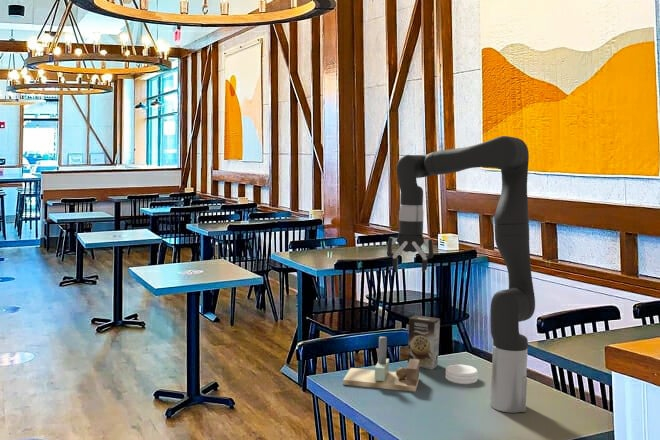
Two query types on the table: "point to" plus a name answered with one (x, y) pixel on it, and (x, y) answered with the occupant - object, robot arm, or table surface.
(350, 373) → the base
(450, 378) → the white bowl
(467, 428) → the table surface
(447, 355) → the table surface
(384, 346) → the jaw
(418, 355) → the coffee box
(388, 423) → the table surface
